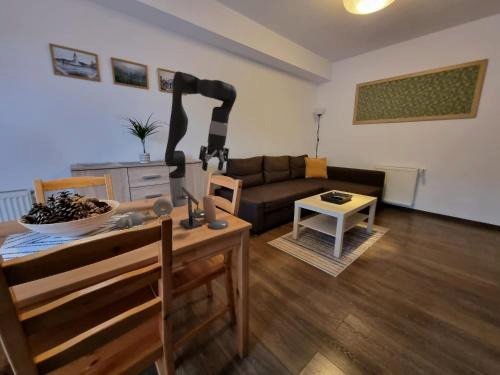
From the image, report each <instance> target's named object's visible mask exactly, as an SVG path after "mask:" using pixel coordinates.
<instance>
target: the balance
mask: <svg viewBox="0 0 500 375" xmlns="http://www.w3.org/2000/svg"><path fill="white" fill-rule="evenodd" d="M181 190H182V195H180V196H177V197H176V198H177V199H179V200H183V199H187V211H188V212H187V213H188V218H185V219H181V220H180V221H179V224H180V225H182V226H183V227H184V228H186V230H188V231H189V230H192V229H193V230H194V229H196V228H200V227H203V223H202V222H201V221H199V219H196V218H197V217H201V216H204V215H205V212H203V211H201V210H202V208H200V207H199V203H200V202H199V201H198V200H197V199H196V198H195V197H194V196H193V195H192V194H191V193H190V192H189V191H188V190H187V188H186V189H185V188H184V187H181ZM183 192H184V193H185V194H186V195H183ZM192 202H193V203H194V205H195V206H196V207H195V208H193V204H192Z"/></svg>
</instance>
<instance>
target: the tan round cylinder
mask: <svg viewBox="0 0 500 375" xmlns="http://www.w3.org/2000/svg"><path fill="white" fill-rule="evenodd" d="M202 207H203V208H202V210H203V212H205V215H204V218H203V221H204V222H207V223H210V222H211V221H214V220H217V213H216V211H217V210H216V209H217V208H216V196H215V195H204V196H202Z"/></svg>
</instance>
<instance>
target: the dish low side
mask: <svg viewBox="0 0 500 375" xmlns="http://www.w3.org/2000/svg"><path fill="white" fill-rule="evenodd" d="M208 223H209V224H208V227H209V228H210V229H213V230H222V229H226V228H227V227H229V222H228V221H227V220H225V219H216V220H214V221H211V222H208Z"/></svg>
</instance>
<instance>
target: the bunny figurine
mask: <svg viewBox="0 0 500 375" xmlns="http://www.w3.org/2000/svg"><path fill="white" fill-rule="evenodd" d="M152 218H154V214H150V211H146V212H143V213H140V212H133V213H131V214H129V215H126V216H123V217H120V218H119V219H117V221H115V224H116V227H117V228H118V229H119V228H120V229H124V228H123V227H127V226H128V227H129V228H130V227H132V225H136V226H138V225H137V224H139V225H142V224H143V222H144V220H148V219H152ZM128 227H127V228H128Z"/></svg>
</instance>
